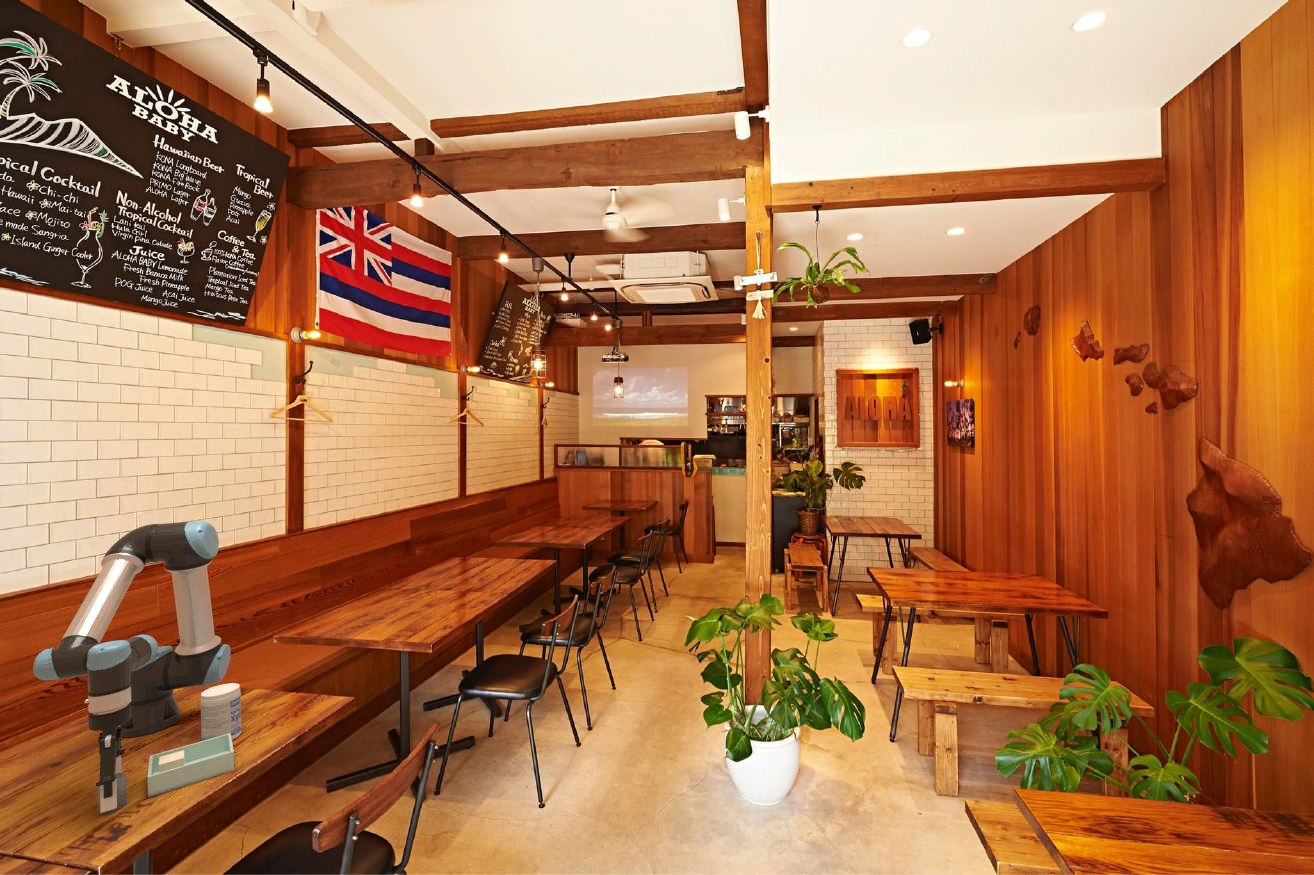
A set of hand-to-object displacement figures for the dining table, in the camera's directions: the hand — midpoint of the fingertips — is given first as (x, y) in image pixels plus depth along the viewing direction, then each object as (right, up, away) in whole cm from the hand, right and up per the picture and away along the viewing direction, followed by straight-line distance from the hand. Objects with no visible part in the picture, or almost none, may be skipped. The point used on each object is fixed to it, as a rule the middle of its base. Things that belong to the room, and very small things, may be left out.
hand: (111, 797), depth 137 cm
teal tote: (+8, -3, +15) cm, 17 cm away
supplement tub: (+2, -3, +32) cm, 32 cm away
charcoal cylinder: (0, -3, 0) cm, 3 cm away
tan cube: (+5, -2, +12) cm, 13 cm away
